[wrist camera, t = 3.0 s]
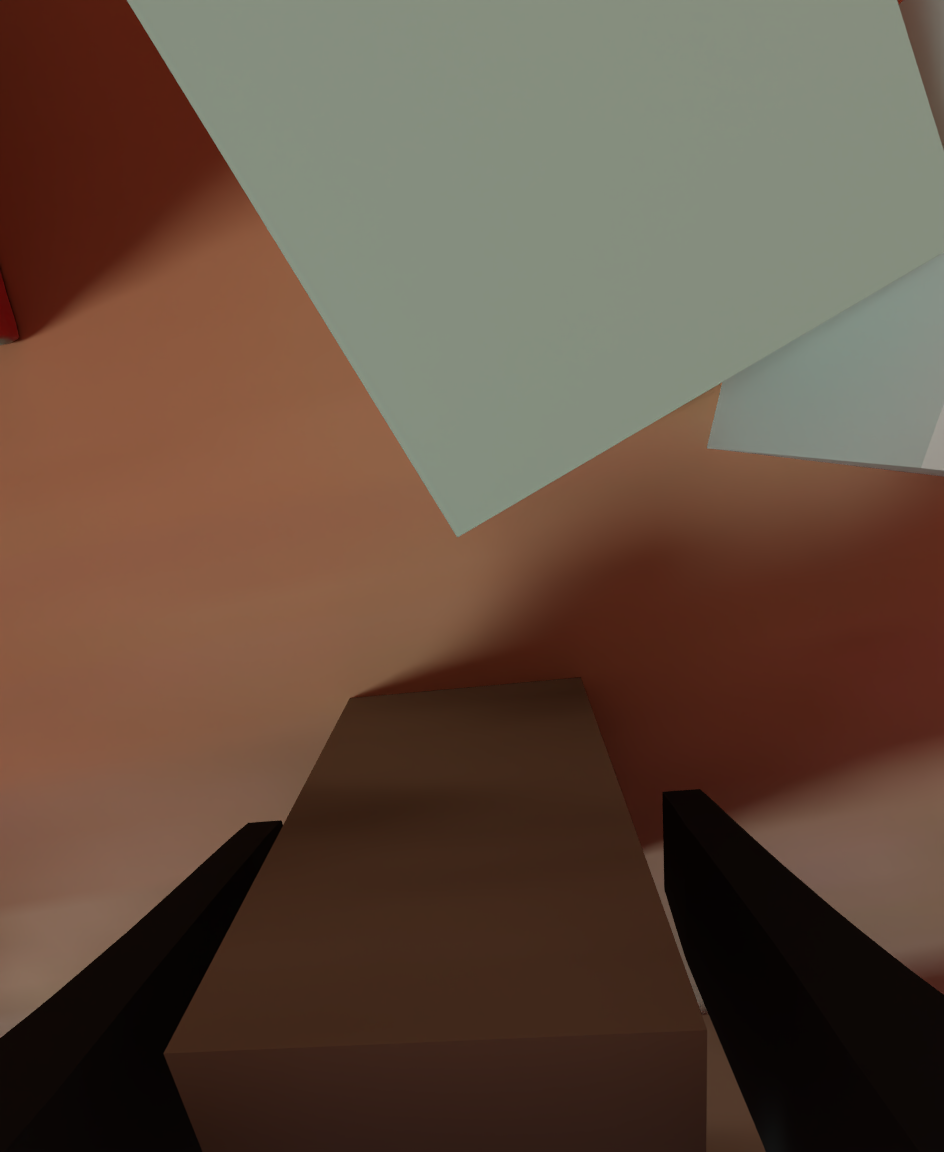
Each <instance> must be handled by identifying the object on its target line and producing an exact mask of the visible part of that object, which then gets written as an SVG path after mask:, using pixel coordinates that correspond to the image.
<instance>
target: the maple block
mask: <svg viewBox="0 0 944 1152" xmlns="http://www.w3.org/2000/svg"><path fill="white" fill-rule="evenodd" d="M702 1017H703V1020H704V1022H705V1025H706V1028H707V1123H706V1152H766V1151H765V1149H764V1146H763V1144H762V1141H761V1139H760V1136H759V1134H758V1132H757V1129H756V1127H755V1124H754V1122H753V1120H752V1117H751V1115H750V1112H749V1110H748V1108H747V1105H746V1103H745V1100H744V1098H743V1096H742V1093H741V1091H740V1088H739V1086H738V1084H737V1081H736V1079H735V1076H734V1074H733V1072H732V1069H731V1067H730V1064H729V1062H728V1060H727V1057H726V1055H725V1052H724V1050H723V1048H722V1045H721V1043H720V1040H719V1038H718V1036H717V1033H716V1031H715V1028H714V1026H713V1024H712V1021H711V1019H710V1016H709V1014H707V1015H702Z"/></svg>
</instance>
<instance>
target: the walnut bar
mask: <svg viewBox="0 0 944 1152" xmlns="http://www.w3.org/2000/svg"><path fill="white" fill-rule="evenodd" d="M163 1054H164V1056H165V1059H166V1061H167V1064H168V1066H169V1069H170V1071H171V1074H172V1076H173V1079H174V1081H175V1084H176V1086H177V1089H178V1092H179V1094H180V1097H181V1099H182V1102H183V1104H184V1107H185V1109H186V1112H187V1114H188V1117H189V1119H190V1122H191V1124H192V1127H193V1129H194V1132H195V1134H196V1137H197V1139H198V1142H199V1144H200V1147H201V1149H202V1152H706V1123H707V1028H706V1025H705V1022H704V1020H703V1017H702V1014H701V1011H700V1008H699V1006H698V1003H697V1000H696V997H695V995H694V992H693V989H692V986H691V983H690V981H689V978H688V975H687V972H686V970H685V967H684V964H683V961H682V958H681V956H680V953H679V950H678V947H677V944H676V942H675V939H674V936H673V933H672V931H671V928H670V925H669V922H668V919H667V917H666V914H665V911H664V908H663V906H662V903H661V900H660V897H659V894H658V892H657V889H656V886H655V883H654V880H653V878H652V875H651V872H650V869H649V867H648V864H647V861H646V858H645V855H644V853H643V850H642V847H641V844H640V842H639V839H638V836H637V833H636V830H635V828H634V825H633V822H632V819H631V816H630V814H629V811H628V808H627V805H626V803H625V800H624V797H623V794H622V791H621V789H620V786H619V783H618V780H617V778H616V775H615V772H614V769H613V766H612V764H611V761H610V758H609V755H608V752H607V750H606V747H605V744H604V741H603V739H602V736H601V733H600V730H599V727H598V725H597V722H596V719H595V716H594V714H593V711H592V708H591V705H590V702H589V700H588V697H587V694H586V691H585V688H584V686H583V683H582V680H581V677H579V678H568V679H557V680H546V681H535V682H524V683H513V684H502V685H490V686H479V687H468V688H457V689H446V690H435V691H424V692H413V693H402V694H391V695H379V696H368V697H357V698H350V699H349V701H348V703H347V705H346V707H345V709H344V710H343V712H342V714H341V716H340V718H339V720H338V722H337V724H336V726H335V728H334V730H333V731H332V733H331V735H330V737H329V739H328V741H327V743H326V745H325V747H324V749H323V750H322V752H321V754H320V756H319V758H318V760H317V762H316V764H315V766H314V768H313V770H312V771H311V773H310V775H309V777H308V779H307V781H306V783H305V785H304V787H303V789H302V790H301V792H300V794H299V796H298V798H297V800H296V802H295V804H294V806H293V808H292V810H291V811H290V813H289V815H288V817H287V819H286V821H285V823H284V825H283V827H282V829H281V830H280V832H279V834H278V836H277V838H276V840H275V842H274V844H273V846H272V848H271V850H270V851H269V853H268V855H267V857H266V859H265V861H264V863H263V865H262V867H261V869H260V870H259V872H258V874H257V876H256V878H255V880H254V882H253V884H252V886H251V888H250V890H249V891H248V893H247V895H246V897H245V899H244V901H243V903H242V905H241V907H240V909H239V911H238V912H237V914H236V916H235V918H234V920H233V922H232V924H231V926H230V928H229V930H228V931H227V933H226V935H225V937H224V939H223V941H222V943H221V945H220V947H219V949H218V951H217V952H216V954H215V956H214V958H213V960H212V962H211V964H210V966H209V968H208V970H207V971H206V973H205V975H204V977H203V979H202V981H201V983H200V985H199V987H198V989H197V991H196V992H195V994H194V996H193V998H192V1000H191V1002H190V1004H189V1006H188V1008H187V1010H186V1011H185V1013H184V1015H183V1017H182V1019H181V1021H180V1023H179V1025H178V1027H177V1029H176V1031H175V1032H174V1034H173V1036H172V1038H171V1040H170V1042H169V1044H168V1046H167V1048H166V1050H165V1052H164V1053H163Z"/></svg>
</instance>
